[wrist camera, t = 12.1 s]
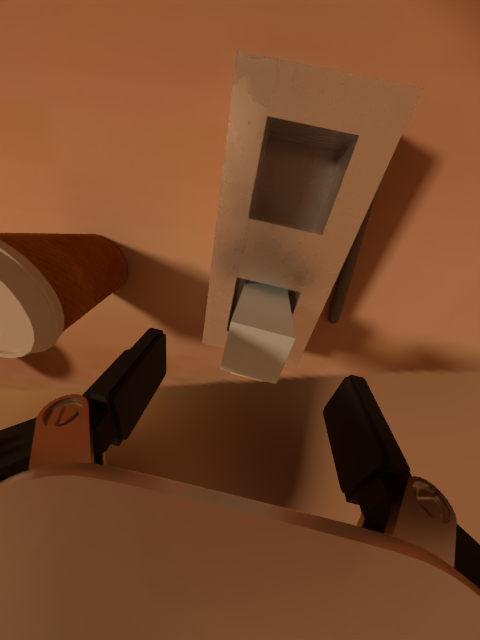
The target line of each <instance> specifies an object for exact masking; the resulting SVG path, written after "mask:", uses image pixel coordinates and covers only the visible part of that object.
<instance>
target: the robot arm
mask: <svg viewBox="0 0 480 640" xmlns="http://www.w3.org/2000/svg"><path fill="white" fill-rule="evenodd" d="M165 374H166V335H165V334H163V331H162V330H158V329H154V328H150V329H148V330H147V332H146V333H145V334H144V335H143V336H142V337H141V338H140V339H139V340H138V341H137V342H136V343H135V345H134V346H133V347H132V348H131V349H130V350H125V351H124V352H123V353H122V354H121V355H120V356H119V357H118V358H117V359H116V360H115V361H114V362H113V364H112V365H111V366H110V367H109V368H108V369H107V370H106V371H105V372H104V373H103V374H102V375H101V376H100V377H99V378H98V379H97V380H96V381H95V382H94V384H93V385H92V386H91V387H90V388H89V389H88V390H87V391H86V392H85V393H84V394H83V395H82V396H81V395H78V394H71V395H66V396H62V397H59V398H57V399H55V400H53V401H52V402H50V403H48V404H47V405H46V406H45V407H44V408H43V409H42V410H41V411H40V413H39V414H38V416H37V418H34V419H31V420H28V421H26V422H23V423H20V424H17V425H14V426H11V427H8V428H6V429H3V430H0V640H480V545H479V544H478V543H477V542H476V541H475V540H474V539H473V538H472V537H471V536H470V535H469V534H467V533H466V532H465V531H464V530H463V529H462V528H461V527H460V526H459V525H457V521H456V515H455V513H454V510H453V508H452V506H451V505H450V503H449V502H448V500H447V499H446V498H445V496H444V495H443V494H442V493H441V492H440V491H439V490H438V489H437V488H436V487H435V486H434V485H433V484H431V483H430V482H428V481H427V480H425V479H423V478H421V477H416V476H413V477H412V476H411V474H410V472H409V471H410V468H409V466H408V464H407V462H406V460H405V458H404V456H403V454H402V452H401V450H400V448H399V446H398V444H397V442H396V440H395V438H394V436H393V434H392V432H391V430H390V428H389V426H388V424H387V422H386V420H385V418H384V416H383V415H382V412H381V410H380V408H379V406H378V404H377V402H376V400H375V399H374V396H373V394H372V393H371V390H370V388H369V386H368V384H367V382H366V380H365V379H364V378H362V377H358V376H354V375H350V376H349V377H345V378H344V380H343V381H342V383H341V384H340V386H339V387H338V389H337V390H336V392H335V393H334V395H333V396H332V397H331V399H330V400H329V402H328V403H327V405H326V406H325V408H324V410H323V415H324V419H325V424H326V428H327V433H328V437H329V441H330V445H331V450H332V454H333V458H334V463H335V466H336V471H337V475H338V480H339V484H340V488H341V490H342V492H343V493H345V497H346V501H347V502H350V503H353V504H358V505H360V508H361V512H362V513H361V516H360V518H359V521H358V523H357V526H354V525H350V524H347V523H343V522H339V521H335V520H331V519H327V518H323V517H319V516H315V515H311V514H307V513H303V512H299V511H296V510H292V509H288V508H284V507H279V506H275V505H271V504H267V503H263V502H259V501H255V500H251V499H247V498H243V497H239V496H235V495H231V494H227V493H223V492H219V491H215V490H211V489H206V488H203V487H198V486H194V485H190V484H186V483H182V482H178V481H174V480H169V479H165V478H161V477H157V476H153V475H148V474H144V473H139V472H135V471H130V470H126V469H121V468H117V467H111V466H106V465H105V457H104V452H105V451H107V449H108V447H109V445H110V444H113V445H117V446H119V445H120V444H121V442H122V440H123V439H127V438H128V437H129V435H130V434H131V432H132V430H133V429H134V427H135V425H136V424H137V422H138V420H139V419H140V417H141V415H142V414H143V412H144V410H145V408H146V407H147V405H148V404H149V402H150V400H151V398H152V397H153V395H154V393H155V392H156V390H157V388H158V387H159V385H160V383H161V382H162V380H163V378H164V377H165Z"/></svg>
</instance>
